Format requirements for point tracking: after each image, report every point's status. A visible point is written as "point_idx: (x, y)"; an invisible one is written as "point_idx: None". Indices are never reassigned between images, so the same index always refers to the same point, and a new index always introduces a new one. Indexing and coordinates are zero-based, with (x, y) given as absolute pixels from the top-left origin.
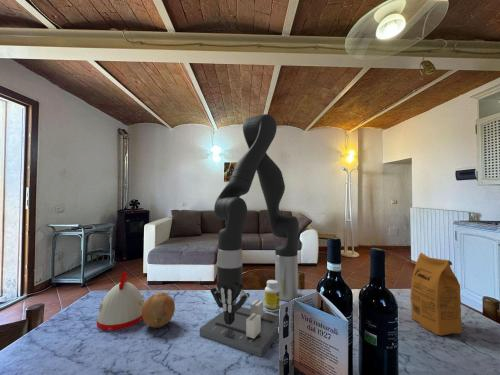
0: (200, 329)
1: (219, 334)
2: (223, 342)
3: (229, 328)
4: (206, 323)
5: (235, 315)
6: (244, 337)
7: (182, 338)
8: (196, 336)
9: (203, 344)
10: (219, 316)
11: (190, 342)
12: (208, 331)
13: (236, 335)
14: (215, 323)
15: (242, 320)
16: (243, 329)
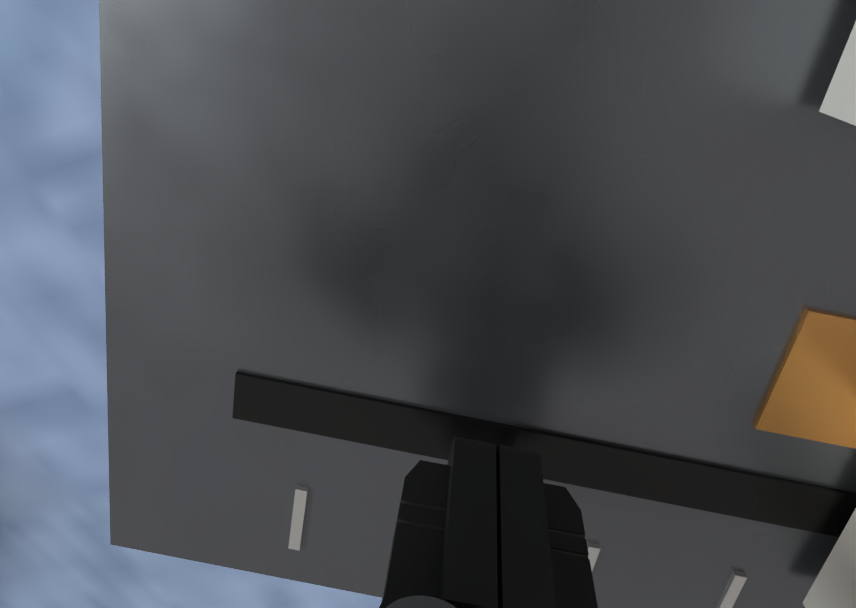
0: (129, 537)
1: None
2: None
3: None
4: (110, 431)
5: (438, 29)
6: (770, 589)
7: (28, 562)
8: None
9: (292, 594)
10: (158, 173)
11: (151, 595)
12: (257, 571)
13: (651, 576)
14: (234, 407)
15: (641, 180)
16: (720, 434)
